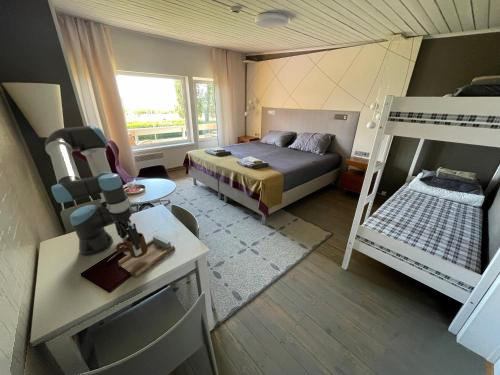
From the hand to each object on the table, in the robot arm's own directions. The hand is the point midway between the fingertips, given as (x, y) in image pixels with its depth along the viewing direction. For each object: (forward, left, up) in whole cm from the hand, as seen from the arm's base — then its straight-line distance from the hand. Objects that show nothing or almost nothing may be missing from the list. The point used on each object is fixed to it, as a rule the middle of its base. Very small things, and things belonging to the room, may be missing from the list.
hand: (133, 251), depth 97 cm
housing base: (0, +6, -8) cm, 10 cm away
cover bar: (0, +15, -7) cm, 16 cm away
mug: (-1, 0, -3) cm, 3 cm away
